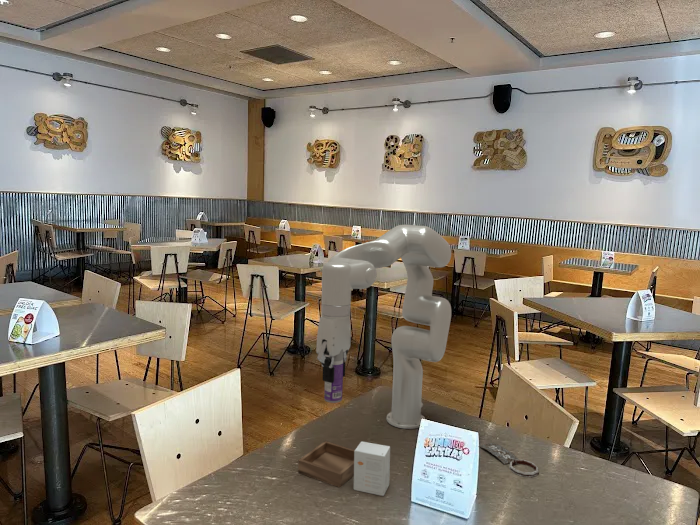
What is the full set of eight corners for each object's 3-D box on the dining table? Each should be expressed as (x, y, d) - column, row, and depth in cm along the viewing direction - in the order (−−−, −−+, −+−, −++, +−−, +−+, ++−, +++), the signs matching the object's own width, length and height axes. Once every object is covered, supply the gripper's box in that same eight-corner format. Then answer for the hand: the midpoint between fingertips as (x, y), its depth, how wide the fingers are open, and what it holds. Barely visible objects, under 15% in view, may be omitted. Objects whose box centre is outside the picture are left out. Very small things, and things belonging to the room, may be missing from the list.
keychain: (496, 444, 157) (497, 438, 157) (544, 475, 140) (545, 468, 140) (476, 449, 154) (476, 442, 154) (522, 481, 137) (523, 474, 137)
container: (343, 396, 139) (344, 342, 137) (341, 403, 134) (342, 347, 132) (325, 395, 139) (327, 340, 137) (323, 402, 134) (324, 345, 133)
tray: (324, 452, 148) (325, 440, 148) (365, 465, 142) (365, 453, 141) (298, 472, 137) (298, 460, 136) (340, 487, 130) (340, 474, 130)
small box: (389, 485, 132) (391, 446, 131) (383, 497, 127) (385, 456, 126) (359, 478, 135) (361, 440, 134) (352, 490, 130) (354, 450, 128)
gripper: (340, 303, 143) (338, 367, 145) (304, 314, 128) (303, 385, 130) (364, 306, 139) (362, 372, 141) (330, 318, 124) (328, 391, 127)
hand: (333, 377), depth 136 cm, fingers closed on container, 4 cm apart
